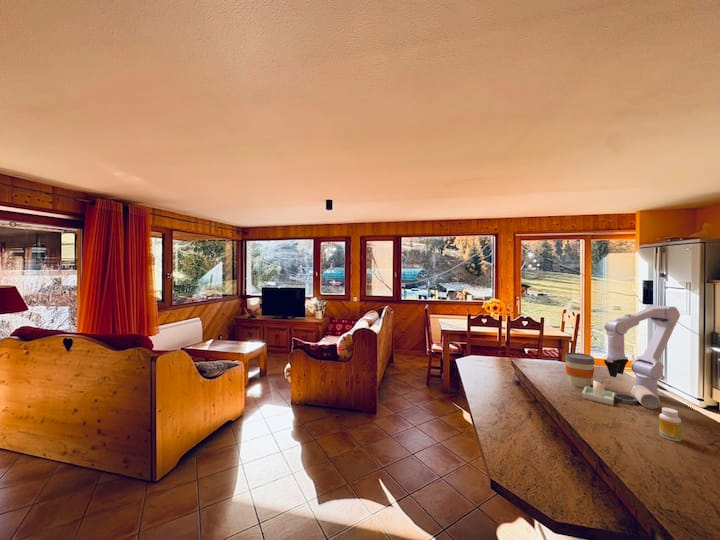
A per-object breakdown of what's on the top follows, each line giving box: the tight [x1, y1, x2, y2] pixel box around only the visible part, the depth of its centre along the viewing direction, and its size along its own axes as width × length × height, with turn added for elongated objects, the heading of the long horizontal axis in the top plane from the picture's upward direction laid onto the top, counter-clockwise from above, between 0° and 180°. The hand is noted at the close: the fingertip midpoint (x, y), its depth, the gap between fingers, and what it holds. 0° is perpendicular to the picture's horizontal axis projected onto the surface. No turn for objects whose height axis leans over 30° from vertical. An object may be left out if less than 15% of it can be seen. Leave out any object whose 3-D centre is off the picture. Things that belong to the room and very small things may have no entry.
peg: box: [592, 378, 605, 397], centre depth 135 cm, size 4×4×8 cm
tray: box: [581, 386, 616, 406], centre depth 135 cm, size 11×11×2 cm
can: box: [630, 384, 661, 410], centre depth 129 cm, size 6×6×12 cm
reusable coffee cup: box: [564, 352, 595, 389], centre depth 151 cm, size 13×12×15 cm
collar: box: [614, 392, 639, 406], centre depth 132 cm, size 8×8×2 cm
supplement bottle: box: [658, 407, 683, 442], centre depth 103 cm, size 5×5×10 cm
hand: (616, 375), depth 136 cm, fingers open, 7 cm apart
